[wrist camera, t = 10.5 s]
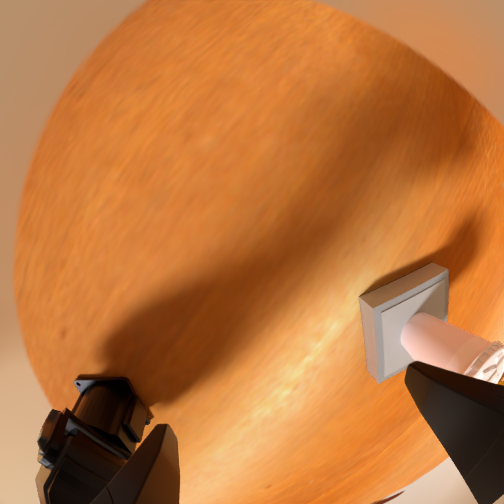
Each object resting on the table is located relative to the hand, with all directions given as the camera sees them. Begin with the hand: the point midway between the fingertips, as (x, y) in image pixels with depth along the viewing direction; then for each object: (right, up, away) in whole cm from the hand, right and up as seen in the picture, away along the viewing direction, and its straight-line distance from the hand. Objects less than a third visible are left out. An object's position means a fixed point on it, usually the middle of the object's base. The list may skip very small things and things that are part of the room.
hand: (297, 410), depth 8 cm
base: (+13, -1, +15) cm, 20 cm away
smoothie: (+13, -2, +13) cm, 19 cm away
